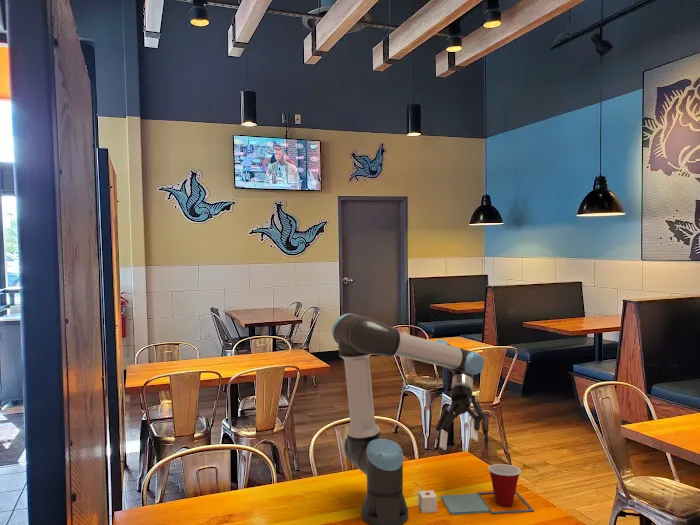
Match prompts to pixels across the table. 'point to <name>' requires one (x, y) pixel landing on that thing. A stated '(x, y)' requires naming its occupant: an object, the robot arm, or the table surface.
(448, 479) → the table surface
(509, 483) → the plastic cup
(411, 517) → the table surface
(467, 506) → the pad
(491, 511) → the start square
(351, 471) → the table surface
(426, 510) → the die
